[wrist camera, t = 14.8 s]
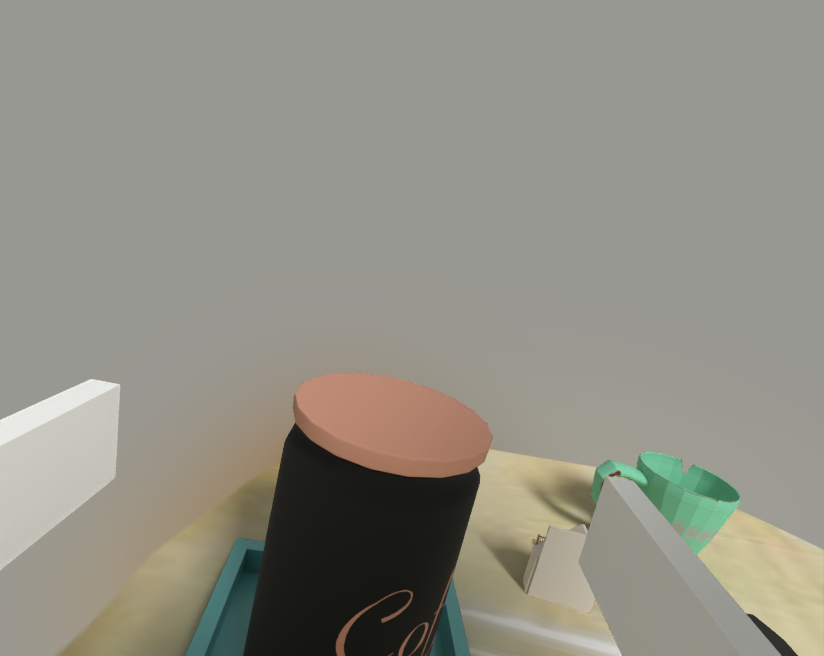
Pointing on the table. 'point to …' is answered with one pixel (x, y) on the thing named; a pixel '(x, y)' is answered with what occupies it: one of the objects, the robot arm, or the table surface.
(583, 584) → the architectural model
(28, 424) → the robot arm
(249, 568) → the tray
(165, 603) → the table surface
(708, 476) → the mug
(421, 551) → the coffee jar
